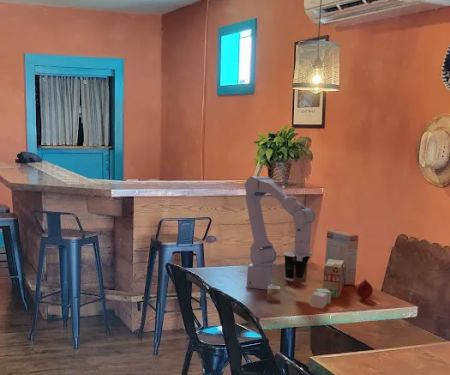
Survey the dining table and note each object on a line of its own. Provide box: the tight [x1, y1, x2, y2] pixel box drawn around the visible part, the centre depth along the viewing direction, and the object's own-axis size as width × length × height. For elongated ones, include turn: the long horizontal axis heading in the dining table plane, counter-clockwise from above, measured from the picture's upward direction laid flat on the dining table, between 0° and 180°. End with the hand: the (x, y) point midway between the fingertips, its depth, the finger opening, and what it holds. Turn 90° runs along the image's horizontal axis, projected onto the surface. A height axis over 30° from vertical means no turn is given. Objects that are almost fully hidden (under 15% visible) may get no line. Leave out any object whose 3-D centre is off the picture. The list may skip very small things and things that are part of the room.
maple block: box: [266, 285, 281, 302], centre depth 229 cm, size 4×4×4 cm
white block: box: [309, 291, 327, 309], centre depth 223 cm, size 4×4×4 cm
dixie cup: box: [283, 251, 295, 282], centre depth 259 cm, size 8×8×11 cm
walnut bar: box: [292, 263, 309, 284], centre depth 231 cm, size 4×4×6 cm
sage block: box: [314, 288, 332, 305], centre depth 228 cm, size 4×4×4 cm
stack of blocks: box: [322, 259, 345, 299], centre depth 245 cm, size 21×6×12 cm, turn 163°
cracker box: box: [324, 229, 359, 286], centre depth 259 cm, size 14×6×21 cm, turn 29°
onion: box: [356, 278, 373, 301], centre depth 234 cm, size 6×6×8 cm
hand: (300, 276), depth 231 cm, fingers closed on walnut bar, 4 cm apart
